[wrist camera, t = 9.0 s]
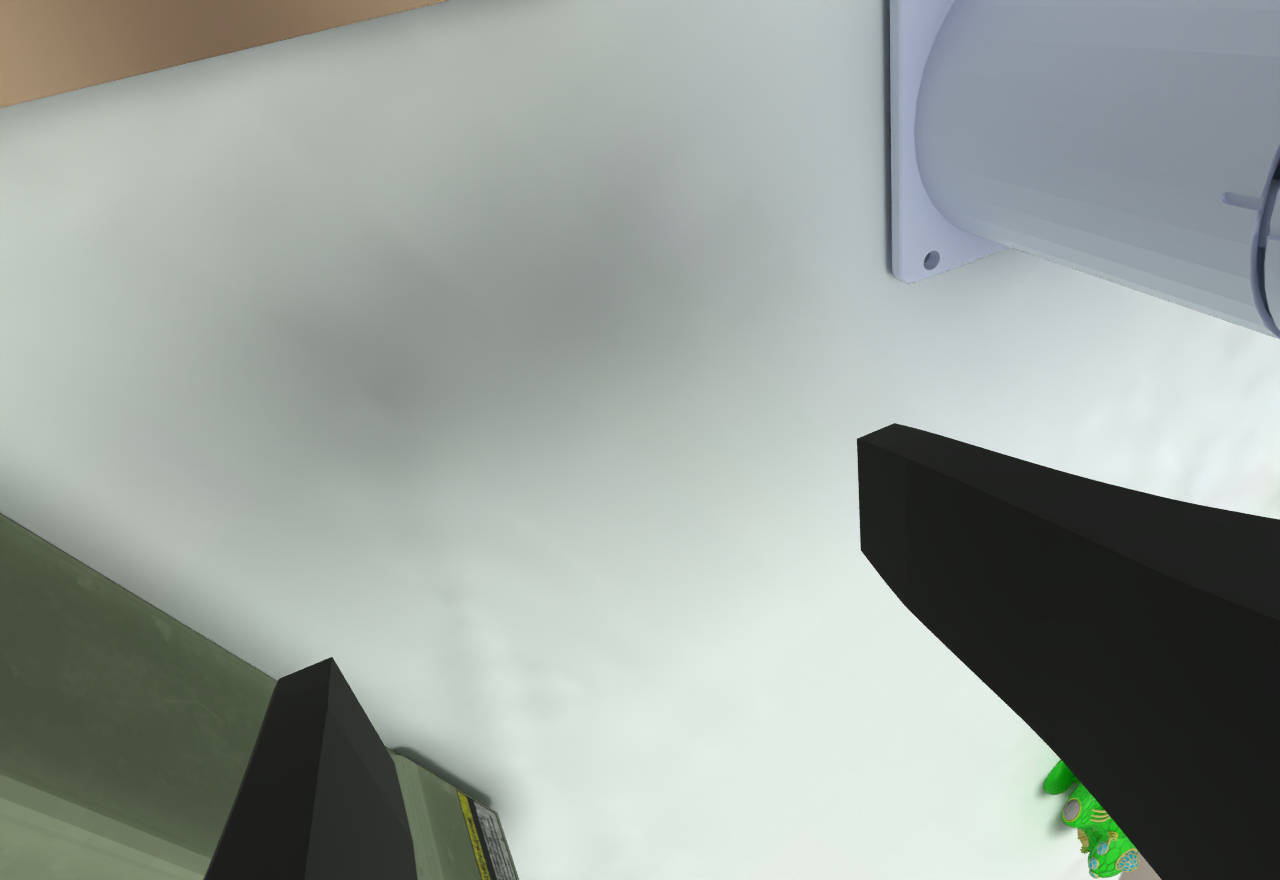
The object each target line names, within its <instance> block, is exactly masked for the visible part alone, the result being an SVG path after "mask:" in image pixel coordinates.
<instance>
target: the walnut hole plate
mask: <svg viewBox="0 0 1280 880" xmlns="http://www.w3.org/2000/svg"><path fill="white" fill-rule="evenodd" d="M444 1H448V0H0V108H2V107H6V106H10V105H14V104H19V103H23V102H27V101H31V100H35V99H39V98H44V97H48V96H52V95H56V94H60V93H64V92H69V91H73V90H77V89H81V88H85V87H89V86H94V85H98V84H102V83H106V82H110V81H115V80H119V79H123V78H127V77H131V76H135V75H140V74H144V73H148V72H152V71H156V70H160V69H165V68H169V67H173V66H177V65H181V64H185V63H190V62H194V61H198V60H202V59H206V58H210V57H215V56H219V55H223V54H227V53H231V52H236V51H240V50H244V49H248V48H252V47H256V46H261V45H265V44H269V43H273V42H277V41H281V40H286V39H290V38H294V37H298V36H302V35H306V34H311V33H315V32H319V31H323V30H327V29H331V28H336V27H340V26H344V25H348V24H352V23H357V22H361V21H365V20H369V19H373V18H377V17H382V16H386V15H390V14H394V13H398V12H402V11H407V10H411V9H415V8H419V7H423V6H427V5H432V4H436V3H440V2H444Z"/></svg>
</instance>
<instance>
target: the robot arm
mask: <svg viewBox="0 0 1280 880" xmlns="http://www.w3.org/2000/svg"><path fill="white" fill-rule="evenodd" d="M890 81H891V192H892V270H893V275H894V276H895V277H896V278H897V279H898V280H900V281H903V282H905V283H908V284H912V283H916V282H919V281H922V280H924V279H927V278H930V277H932V276H935V275H938V274H940V273H943V272H946V271H948V270H951V269H954V268H956V267H959V266H962V265H964V264H967V263H970V262H972V261H975V260H978V259H980V258H983V257H986V256H988V255H991V254H994V253H996V252H999V251H1002V250H1004V249H1007V248H1010V247H1011V248H1014V249H1017V250H1020V251H1023V252H1026V253H1029V254H1032V255H1035V256H1038V257H1041V258H1044V259H1047V260H1049V261H1052V262H1055V263H1058V264H1061V265H1064V266H1067V267H1070V268H1073V269H1076V270H1079V271H1082V272H1085V273H1088V274H1090V275H1093V276H1096V277H1099V278H1102V279H1105V280H1108V281H1111V282H1114V283H1117V284H1120V285H1123V286H1126V287H1129V288H1131V289H1134V290H1137V291H1140V292H1143V293H1146V294H1149V295H1152V296H1155V297H1158V298H1161V299H1164V300H1167V301H1170V302H1172V303H1175V304H1178V305H1181V306H1184V307H1187V308H1190V309H1193V310H1196V311H1199V312H1202V313H1205V314H1208V315H1211V316H1213V317H1216V318H1219V319H1222V320H1225V321H1228V322H1231V323H1234V324H1237V325H1240V326H1243V327H1246V328H1249V329H1252V330H1254V331H1257V332H1260V333H1263V334H1266V335H1269V336H1272V337H1275V338H1278V339H1280V0H890ZM928 253H930V256H929V259H928V260H927V262H926V263H925V264H923V263H924V259H925V257H926V256H927V254H928ZM857 452H858V481H859V510H860V539H861V551H862V552H863V554H864V555H865V556H866V558H867V559H868V560H869V561H870V563H871V564H872V565H873V567H874V568H875V569H876V571H877V572H878V573H879V574H880V576H881V577H882V578H883V580H884V581H885V582H886V583H887V585H888V586H889V587H890V588H891V589H892V591H893V592H894V593H895V594H896V596H897V597H898V598H899V599H900V600H901V602H902V603H903V604H904V605H905V606H906V607H907V608H908V609H909V610H910V611H911V612H912V613H913V614H914V615H915V616H916V617H917V618H918V619H919V620H920V621H921V622H922V623H923V624H924V625H925V626H926V627H927V628H928V629H929V630H930V631H931V632H932V633H933V634H934V635H935V636H936V637H937V638H938V639H939V640H940V641H941V642H942V643H943V644H944V645H945V646H946V647H947V648H948V649H950V650H951V651H952V652H953V653H954V654H955V655H956V656H957V657H958V658H959V659H960V660H961V661H962V662H963V663H964V664H965V665H966V666H967V667H968V668H969V669H970V670H971V671H973V672H974V673H975V674H976V675H977V676H978V677H979V678H980V679H981V680H982V681H983V682H984V683H985V684H986V685H987V686H988V687H989V688H990V689H991V690H992V691H993V692H994V693H996V694H997V695H998V696H999V697H1000V698H1001V699H1002V700H1003V701H1004V702H1005V703H1006V704H1007V705H1008V706H1009V707H1010V708H1011V709H1012V710H1013V711H1014V712H1015V713H1016V714H1017V715H1019V716H1020V717H1021V718H1022V719H1023V720H1024V721H1025V722H1026V723H1027V724H1028V725H1029V726H1030V727H1031V728H1032V729H1033V730H1034V731H1035V732H1036V733H1037V734H1038V735H1039V737H1040V738H1041V739H1042V740H1043V741H1044V742H1045V743H1046V744H1047V745H1048V746H1049V747H1050V748H1051V749H1052V750H1053V751H1054V752H1055V753H1056V754H1057V756H1058V757H1059V758H1060V759H1061V760H1062V761H1063V762H1064V764H1065V765H1066V766H1067V767H1068V768H1069V769H1070V771H1071V772H1072V773H1073V774H1074V775H1075V776H1076V778H1077V779H1078V780H1079V781H1080V782H1081V783H1082V784H1083V786H1084V787H1085V788H1086V789H1087V790H1088V791H1089V793H1090V794H1091V795H1092V796H1093V797H1094V798H1095V799H1096V801H1097V802H1098V803H1099V804H1100V805H1101V806H1102V808H1103V809H1104V810H1105V811H1106V812H1107V813H1108V815H1109V816H1110V817H1111V818H1112V819H1113V821H1114V822H1115V823H1116V824H1117V826H1118V827H1119V828H1120V829H1121V830H1122V832H1123V833H1124V834H1125V835H1126V837H1127V838H1128V839H1129V840H1130V841H1131V843H1132V844H1133V845H1134V846H1135V848H1136V849H1137V850H1138V851H1139V852H1140V854H1141V855H1142V856H1143V857H1144V858H1145V859H1146V861H1147V862H1148V863H1149V864H1150V866H1151V867H1152V868H1153V869H1154V871H1155V872H1156V873H1157V874H1158V876H1159V877H1160V878H1161V879H1162V880H1280V520H1279V519H1273V518H1267V517H1261V516H1256V515H1250V514H1245V513H1239V512H1234V511H1229V510H1223V509H1218V508H1212V507H1207V506H1202V505H1197V504H1192V503H1187V502H1183V501H1178V500H1173V499H1169V498H1164V497H1160V496H1156V495H1152V494H1148V493H1143V492H1139V491H1135V490H1131V489H1127V488H1123V487H1119V486H1115V485H1111V484H1107V483H1103V482H1099V481H1095V480H1092V479H1088V478H1084V477H1080V476H1077V475H1073V474H1069V473H1066V472H1062V471H1059V470H1055V469H1052V468H1048V467H1045V466H1041V465H1038V464H1034V463H1031V462H1027V461H1024V460H1021V459H1017V458H1014V457H1011V456H1007V455H1004V454H1001V453H997V452H994V451H991V450H987V449H984V448H981V447H977V446H974V445H971V444H967V443H964V442H961V441H957V440H954V439H951V438H947V437H944V436H941V435H937V434H934V433H930V432H927V431H923V430H919V429H916V428H912V427H908V426H904V425H899V424H895V423H894V424H892V425H889V426H887V427H884V428H882V429H880V430H877V431H875V432H872V433H870V434H867V435H865V436H863V437H860V438H858V439H857ZM203 880H418V879H417V871H416V862H415V854H414V846H413V840H412V835H411V831H410V827H409V822H408V818H407V813H406V809H405V804H404V800H403V796H402V792H401V788H400V784H399V780H398V775H397V771H396V767H395V763H394V761H393V759H392V757H391V756H390V754H389V752H388V751H387V749H386V747H385V746H384V744H383V742H382V741H381V739H380V737H379V735H378V734H377V732H376V730H375V729H374V727H373V725H372V724H371V722H370V720H369V719H368V717H367V715H366V713H365V712H364V710H363V708H362V707H361V705H360V703H359V702H358V700H357V698H356V696H355V695H354V693H353V691H352V690H351V688H350V686H349V685H348V683H347V681H346V680H345V678H344V676H343V674H342V673H341V671H340V669H339V668H338V666H337V664H336V663H335V661H334V659H333V657H331V658H328V659H326V660H324V661H321V662H319V663H316V664H314V665H312V666H309V667H307V668H304V669H302V670H299V671H297V672H295V673H292V674H290V675H287V676H285V677H283V678H280V679H279V680H278V682H277V684H276V686H275V688H274V690H273V693H272V696H271V699H270V702H269V704H268V707H267V710H266V713H265V716H264V719H263V722H262V725H261V728H260V731H259V734H258V737H257V740H256V743H255V745H254V748H253V751H252V754H251V757H250V760H249V762H248V765H247V768H246V771H245V774H244V776H243V779H242V782H241V785H240V787H239V790H238V793H237V795H236V798H235V801H234V803H233V806H232V808H231V811H230V813H229V816H228V819H227V821H226V824H225V826H224V829H223V831H222V834H221V836H220V839H219V842H218V844H217V847H216V849H215V852H214V854H213V857H212V859H211V862H210V865H209V867H208V869H207V872H206V874H205V877H204V879H203Z"/></svg>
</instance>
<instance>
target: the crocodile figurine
mask: <svg viewBox="0 0 1280 880" xmlns="http://www.w3.org/2000/svg"><path fill="white" fill-rule="evenodd" d="M1072 782H1076V784H1077V785H1078V787H1077V788H1076V789H1075V791H1074V792H1073V793H1072V794H1071V793H1070V795H1069V796H1070V797H1069V799H1068V800H1067V802H1066V804H1065V806H1064V808H1063V810H1062V814H1061V817H1062V820H1063V822H1064V823H1065V824H1066V825H1068V826H1070V827H1073V828H1077V830H1078V839H1080V841H1081V843H1082V844H1083V845H1082V846H1083V847H1081V848H1082V849H1080V850H1081V851H1082V852H1081V853H1084V854H1085V852H1086V853H1088V852H1090V854H1089V856H1088V866H1089V869H1090V870H1089V874H1090V875H1091V876H1092V877H1093V878H1099V877H1101V878H1106V877H1112V876H1115V875H1117V874H1119V873H1120V872H1122V871H1125V872H1131V871H1134V870H1136V869H1137V868H1138V866H1139V863H1140V859H1139V855H1138V850H1137V849H1136V848H1135V846H1134V845H1133V844H1132V843H1131V841H1130V840H1129V839H1128V838H1127V837H1126V835H1125V834H1124V833H1123V832H1122V830H1121V829H1120V828H1119V827H1118V826H1117V824H1116V823H1115V822H1114V821H1113V819H1112V818H1111V817H1110V816H1109V815H1108V813H1107V812H1106V811H1105V810H1104V809H1103V808H1102V806H1101V805H1100V804H1099V803H1098V802H1097V801H1096V799H1095V798H1094V797H1093V796H1092V795H1091V794H1090V793H1089V791H1088V790H1087V789H1086V788H1085V787H1084V786H1083V784H1082V783H1081V782H1080V781H1079V780H1078V779H1077V778H1076V776H1075V775H1074V774H1073V773H1072V772H1071V771H1070V769H1069V768H1068V767H1067V766H1066V765H1065V764H1064V762H1063V761H1062V760H1060V762H1059V763H1058V764H1057V765H1056V766H1055V767H1054V769H1053V770H1052V771H1051V773H1050V774H1049V775H1048V777H1047V779H1046V781H1045V782H1044V787H1043V788H1044V790H1045V791H1046V792H1047V793H1049V794H1052V795H1056V794H1060V793H1063V792H1064V791H1066V790H1067V789H1068V788H1069V787H1070V785H1071V784H1072ZM1087 851H1088V852H1087Z"/></svg>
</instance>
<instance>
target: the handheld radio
mask: <svg viewBox="0 0 1280 880" xmlns="http://www.w3.org/2000/svg"><path fill="white" fill-rule="evenodd" d="M277 682H278V681H276V680H274V679H273V678H271V677H269V676H268V675H266V674H264V673H263V672H261V671H259V670H258V669H256V668H254V667H253V666H251V665H249V664H248V663H246V662H245V661H243V660H241V659H240V658H238V657H236V656H235V655H233V654H231V653H230V652H228V651H226V650H225V649H223V648H221V647H220V646H218V645H216V644H215V643H213V642H211V641H210V640H208V639H206V638H205V637H203V636H202V635H200V634H198V633H197V632H195V631H193V630H192V629H190V628H188V627H187V626H185V625H183V624H182V623H180V622H178V621H177V620H175V619H173V618H172V617H170V616H168V615H167V614H165V613H164V612H162V611H160V610H159V609H157V608H155V607H154V606H152V605H150V604H149V603H147V602H145V601H144V600H142V599H140V598H139V597H137V596H135V595H134V594H132V593H130V592H129V591H127V590H126V589H124V588H122V587H121V586H119V585H117V584H116V583H114V582H112V581H111V580H109V579H107V578H106V577H104V576H102V575H101V574H99V573H97V572H96V571H94V570H92V569H91V568H89V567H88V566H86V565H84V564H83V563H81V562H79V561H78V560H76V559H74V558H73V557H71V556H69V555H68V554H66V553H64V552H63V551H61V550H59V549H58V548H56V547H54V546H53V545H51V544H50V543H48V542H46V541H45V540H43V539H41V538H40V537H38V536H36V535H35V534H33V533H31V532H30V531H28V530H26V529H25V528H23V527H21V526H20V525H18V524H16V523H15V522H13V521H12V520H10V519H8V518H7V517H5V516H3V515H2V514H0V880H203V879H204V877H205V874H206V872H207V869H208V867H209V865H210V862H211V859H212V857H213V854H214V852H215V849H216V847H217V844H218V842H219V839H220V836H221V834H222V831H223V829H224V826H225V824H226V821H227V819H228V816H229V813H230V811H231V808H232V806H233V803H234V801H235V798H236V795H237V793H238V790H239V787H240V785H241V782H242V779H243V776H244V774H245V771H246V768H247V765H248V762H249V760H250V757H251V754H252V751H253V748H254V745H255V743H256V740H257V737H258V734H259V731H260V728H261V725H262V722H263V719H264V716H265V713H266V710H267V707H268V704H269V702H270V699H271V696H272V693H273V690H274V688H275V686H276V684H277ZM386 749H387V751H388V752H389V754H390V756H391V757H392V759H393V761H394V763H395V767H396V771H397V775H398V780H399V784H400V788H401V792H402V796H403V800H404V804H405V809H406V813H407V818H408V822H409V827H410V831H411V835H412V840H413V846H414V854H415V862H416V871H417V879H418V880H519V878H518V875H517V871H516V868H515V865H514V862H513V859H512V856H511V853H510V850H509V847H508V844H507V841H506V838H505V835H504V832H503V829H502V825H501V822H500V819H499V816H498V813H497V812H495V811H493V810H492V809H490V808H488V807H487V806H485V805H483V804H482V803H480V802H478V801H477V800H475V799H474V798H472V797H470V796H469V795H467V794H465V793H464V792H462V791H460V790H459V789H457V788H455V787H454V786H452V785H450V784H449V783H447V782H446V781H444V780H442V779H441V778H439V777H437V776H436V775H434V774H432V773H431V772H429V771H427V770H426V769H424V768H423V767H421V766H419V765H418V764H416V763H414V762H413V761H411V760H409V759H407V758H406V757H404V756H402V755H398V754H397V753H395V752H393V751H392V750H390V749H388V748H387V747H386Z"/></svg>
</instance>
